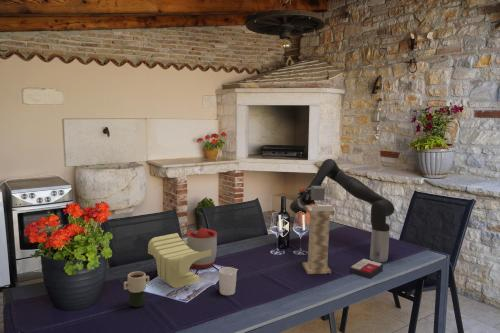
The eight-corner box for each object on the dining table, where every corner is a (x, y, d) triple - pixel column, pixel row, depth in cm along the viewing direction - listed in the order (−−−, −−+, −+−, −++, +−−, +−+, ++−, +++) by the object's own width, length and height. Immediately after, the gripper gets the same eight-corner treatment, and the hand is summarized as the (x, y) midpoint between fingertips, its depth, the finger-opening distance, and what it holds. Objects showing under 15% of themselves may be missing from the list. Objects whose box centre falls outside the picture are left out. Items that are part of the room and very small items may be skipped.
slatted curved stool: (148, 274, 197) (148, 238, 195) (177, 266, 207) (177, 232, 205) (179, 296, 174) (179, 256, 172) (210, 287, 185) (211, 249, 182)
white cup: (229, 297, 175) (230, 275, 173) (214, 293, 179) (215, 271, 177) (239, 291, 181) (240, 269, 180) (225, 286, 185) (225, 265, 184)
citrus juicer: (207, 256, 223) (208, 220, 220) (222, 267, 208) (222, 229, 205) (180, 261, 215) (180, 224, 212) (193, 272, 200) (194, 233, 197)
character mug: (145, 298, 172) (145, 268, 171) (153, 304, 167) (153, 274, 165) (120, 305, 165) (120, 274, 164) (128, 312, 160) (127, 280, 158)
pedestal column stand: (324, 264, 215) (327, 205, 211) (331, 273, 204) (334, 211, 199) (301, 264, 214) (304, 205, 210) (307, 274, 202) (310, 211, 198)
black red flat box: (349, 266, 205) (363, 257, 216) (349, 274, 206) (363, 265, 217) (370, 272, 198) (383, 262, 209) (369, 280, 198) (382, 270, 209)
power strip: (331, 209, 202) (331, 203, 201) (332, 211, 199) (333, 204, 199) (311, 209, 200) (311, 203, 200) (312, 211, 198) (313, 204, 197)
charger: (314, 193, 220) (315, 182, 219) (324, 200, 204) (324, 188, 203) (305, 193, 219) (306, 182, 218) (314, 200, 204) (315, 188, 203)
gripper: (318, 206, 229) (327, 197, 213) (293, 206, 227) (301, 197, 211) (317, 193, 231) (326, 183, 216) (292, 193, 230) (300, 183, 214)
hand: (313, 190), depth 213 cm, fingers closed on charger, 3 cm apart
